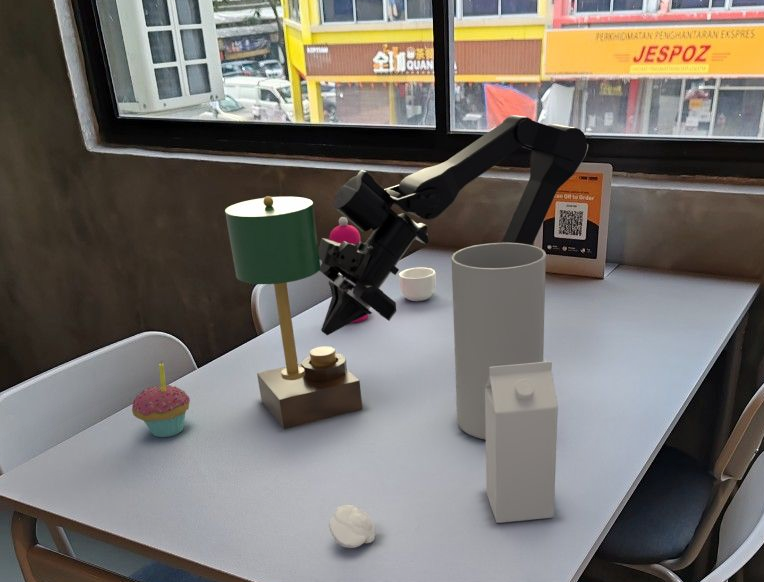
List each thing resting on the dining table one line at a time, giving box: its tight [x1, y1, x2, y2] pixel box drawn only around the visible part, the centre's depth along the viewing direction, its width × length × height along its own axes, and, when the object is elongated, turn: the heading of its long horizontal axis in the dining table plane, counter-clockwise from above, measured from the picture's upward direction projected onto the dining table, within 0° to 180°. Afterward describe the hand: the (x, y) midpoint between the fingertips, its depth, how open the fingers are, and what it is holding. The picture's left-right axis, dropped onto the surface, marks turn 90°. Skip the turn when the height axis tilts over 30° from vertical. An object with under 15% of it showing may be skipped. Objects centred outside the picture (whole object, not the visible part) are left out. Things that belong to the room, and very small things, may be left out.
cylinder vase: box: [451, 242, 547, 441], centre depth 116 cm, size 12×12×25 cm
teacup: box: [398, 267, 437, 302], centre depth 175 cm, size 10×8×5 cm
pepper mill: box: [328, 216, 369, 324], centre depth 162 cm, size 7×7×20 cm
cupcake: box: [131, 358, 191, 438], centre depth 125 cm, size 9×8×12 cm
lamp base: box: [256, 352, 363, 430], centre depth 131 cm, size 13×12×7 cm
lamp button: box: [309, 345, 336, 367], centre depth 130 cm, size 4×4×2 cm
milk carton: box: [485, 360, 559, 524], centre depth 98 cm, size 7×7×19 cm
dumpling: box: [328, 504, 377, 549], centre depth 98 cm, size 7×5×4 cm
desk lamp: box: [224, 195, 321, 380], centre depth 119 cm, size 12×12×26 cm
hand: (324, 333), depth 128 cm, fingers closed
